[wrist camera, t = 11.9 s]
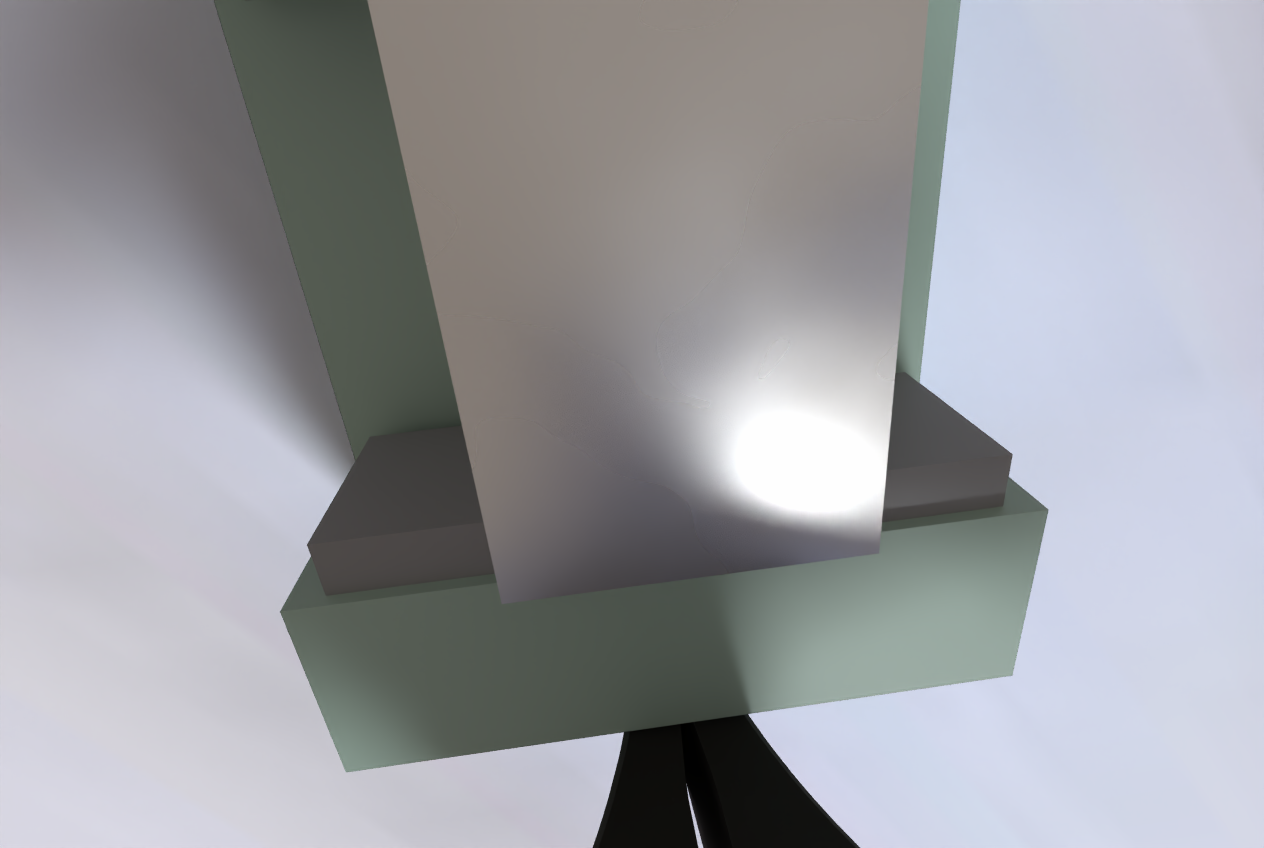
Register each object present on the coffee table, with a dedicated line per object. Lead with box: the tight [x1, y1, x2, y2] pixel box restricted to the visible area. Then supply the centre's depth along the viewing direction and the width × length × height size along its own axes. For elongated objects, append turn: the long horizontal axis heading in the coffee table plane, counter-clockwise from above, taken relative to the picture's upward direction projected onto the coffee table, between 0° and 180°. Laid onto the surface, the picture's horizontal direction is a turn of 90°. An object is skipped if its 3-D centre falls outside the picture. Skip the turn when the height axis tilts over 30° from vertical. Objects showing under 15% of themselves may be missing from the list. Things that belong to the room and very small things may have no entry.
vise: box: [214, 0, 961, 461], centre depth 9 cm, size 10×20×5 cm, turn 5°
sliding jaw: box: [280, 372, 1048, 772], centre depth 11 cm, size 10×4×4 cm, turn 95°
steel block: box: [367, 0, 929, 604], centre depth 8 cm, size 4×6×5 cm, turn 5°
